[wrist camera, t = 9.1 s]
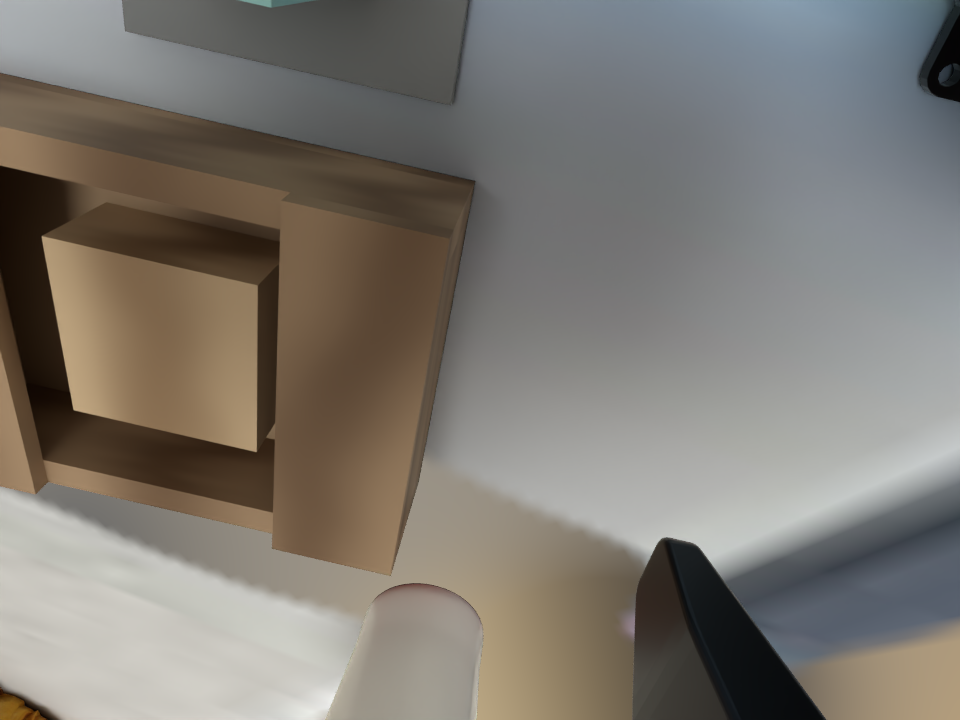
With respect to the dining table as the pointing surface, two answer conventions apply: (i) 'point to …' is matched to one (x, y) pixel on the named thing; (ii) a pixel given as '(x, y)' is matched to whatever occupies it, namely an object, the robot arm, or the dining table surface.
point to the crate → (220, 319)
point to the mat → (324, 37)
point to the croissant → (16, 709)
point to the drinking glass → (413, 659)
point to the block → (275, 2)
